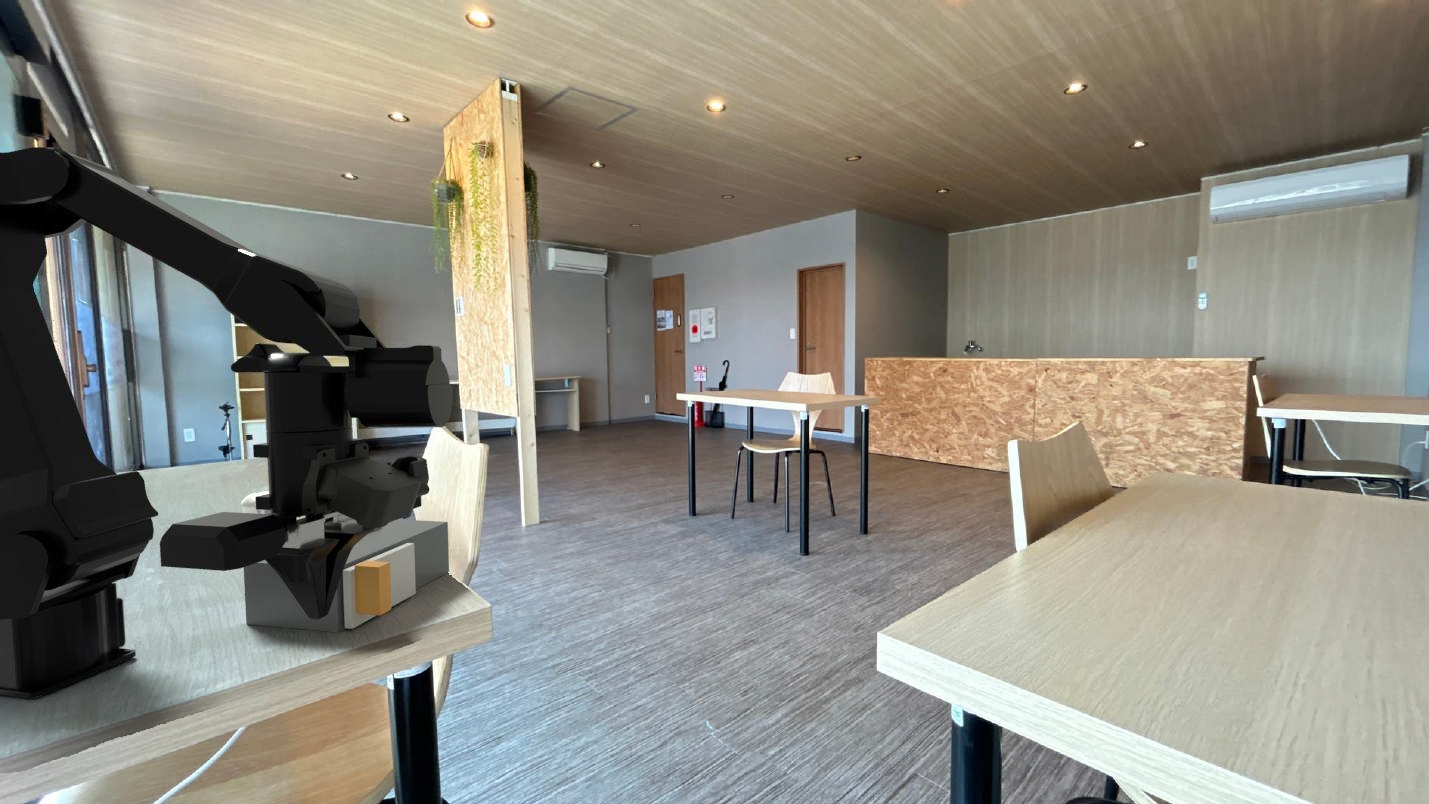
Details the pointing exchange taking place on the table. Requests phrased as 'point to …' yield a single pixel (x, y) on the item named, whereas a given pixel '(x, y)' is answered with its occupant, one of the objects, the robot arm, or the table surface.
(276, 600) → the block
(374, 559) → the side door
